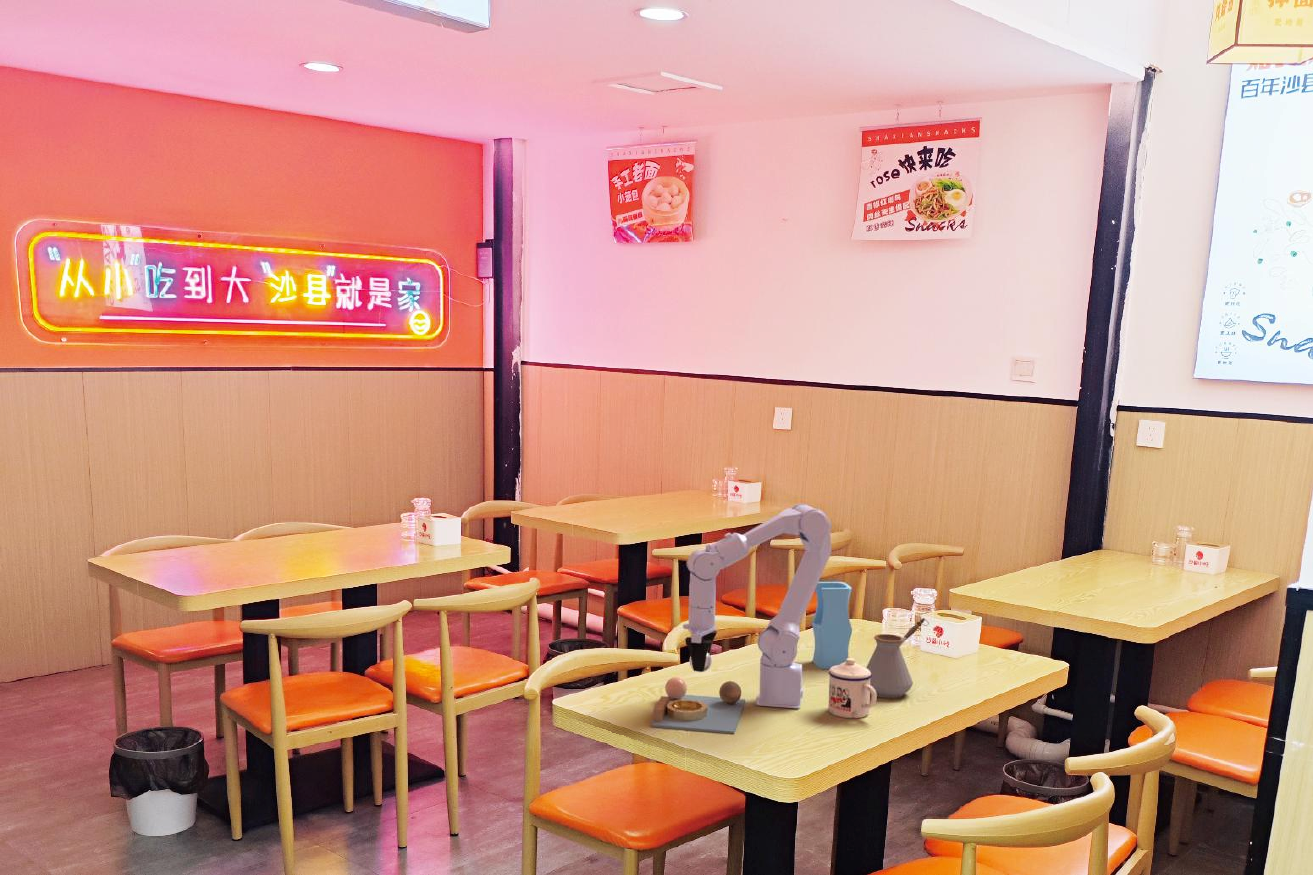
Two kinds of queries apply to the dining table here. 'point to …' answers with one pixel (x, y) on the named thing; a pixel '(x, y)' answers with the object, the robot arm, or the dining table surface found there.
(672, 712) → the tan round shallow dish
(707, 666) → the silver steel ball
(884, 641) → the coffee pot
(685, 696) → the slate mat
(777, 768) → the dining table surface
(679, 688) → the terracotta ball
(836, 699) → the teacup with lid
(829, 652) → the vase
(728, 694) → the walnut ball
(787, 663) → the robot arm
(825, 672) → the dining table surface
